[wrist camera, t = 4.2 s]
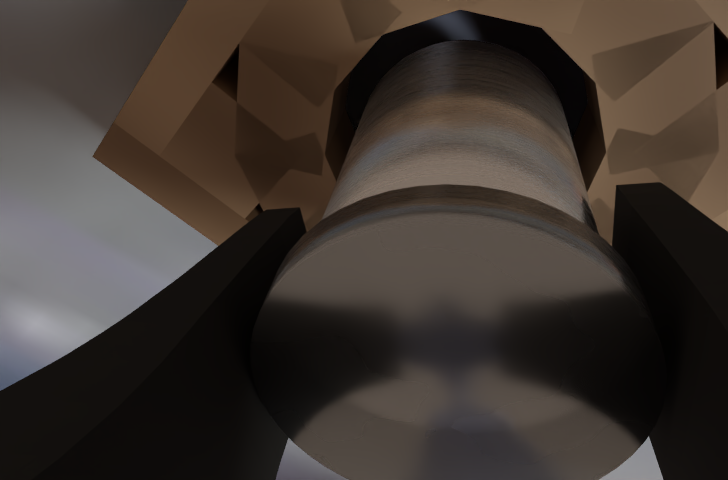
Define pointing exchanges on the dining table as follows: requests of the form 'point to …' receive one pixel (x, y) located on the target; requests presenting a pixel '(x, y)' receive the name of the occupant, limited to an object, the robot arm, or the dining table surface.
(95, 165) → the dining table surface
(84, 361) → the robot arm
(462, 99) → the end cover
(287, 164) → the housing
